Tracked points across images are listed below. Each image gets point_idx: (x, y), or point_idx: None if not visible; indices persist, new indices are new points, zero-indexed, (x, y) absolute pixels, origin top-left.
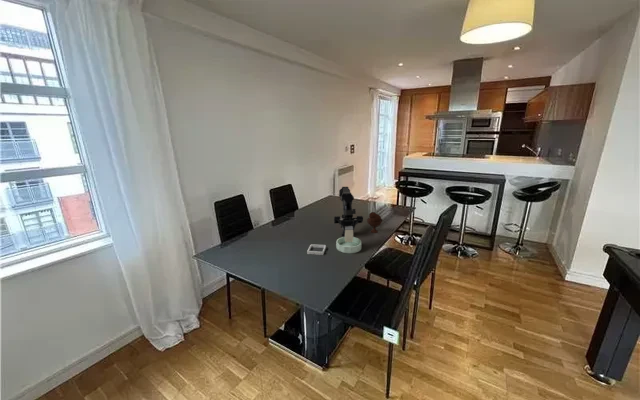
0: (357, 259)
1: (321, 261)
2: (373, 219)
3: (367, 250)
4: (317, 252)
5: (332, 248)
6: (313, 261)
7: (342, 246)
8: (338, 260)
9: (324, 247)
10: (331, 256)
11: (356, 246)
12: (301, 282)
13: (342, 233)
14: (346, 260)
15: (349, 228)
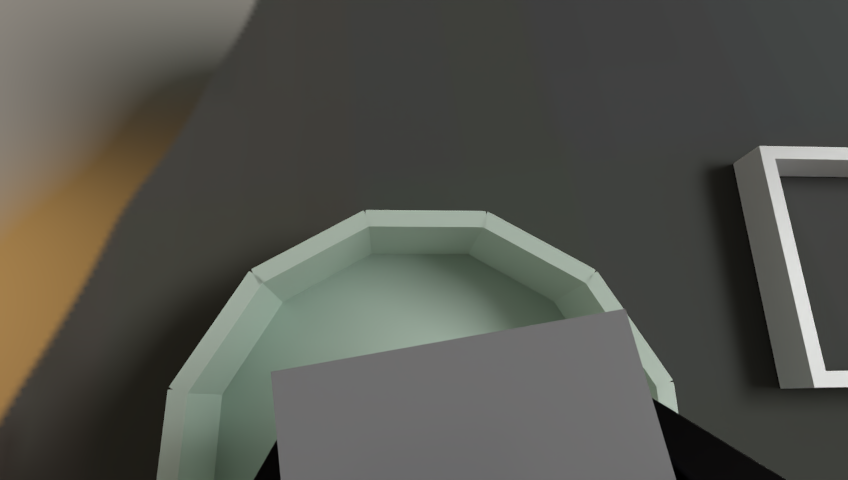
0: (279, 101)
1: (695, 22)
2: None
3: (106, 385)
4: (829, 151)
5: (674, 375)
6: (778, 15)
7: (522, 233)
8: (512, 58)
9: (801, 296)
10: (619, 139)
11: (270, 259)
12: None
13: None
14: (416, 66)
15: (451, 414)
